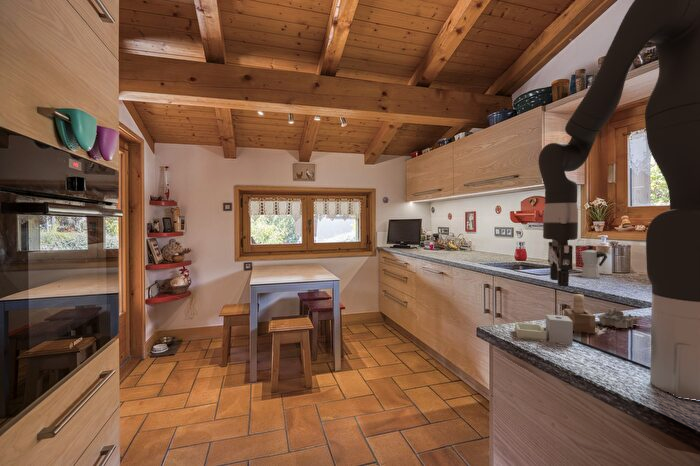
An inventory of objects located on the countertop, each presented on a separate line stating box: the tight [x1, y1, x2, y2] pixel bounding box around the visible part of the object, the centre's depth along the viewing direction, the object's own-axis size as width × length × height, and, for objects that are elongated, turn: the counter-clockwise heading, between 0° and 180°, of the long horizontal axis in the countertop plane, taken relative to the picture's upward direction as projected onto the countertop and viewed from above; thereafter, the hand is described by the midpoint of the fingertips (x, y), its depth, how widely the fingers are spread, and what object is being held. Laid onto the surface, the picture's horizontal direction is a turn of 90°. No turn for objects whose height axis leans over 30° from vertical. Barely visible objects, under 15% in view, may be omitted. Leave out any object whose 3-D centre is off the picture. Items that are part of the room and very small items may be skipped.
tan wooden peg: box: [572, 293, 585, 314], centre depth 92 cm, size 2×2×10 cm
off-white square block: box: [545, 314, 573, 346], centre depth 84 cm, size 5×5×6 cm
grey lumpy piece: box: [597, 307, 639, 329], centre depth 96 cm, size 11×8×4 cm
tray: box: [514, 321, 547, 342], centre depth 87 cm, size 7×7×2 cm
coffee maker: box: [579, 245, 608, 279], centre depth 179 cm, size 15×9×18 cm, turn 17°
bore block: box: [563, 308, 596, 334], centre depth 92 cm, size 6×6×5 cm
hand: (558, 282), depth 83 cm, fingers open, 8 cm apart
